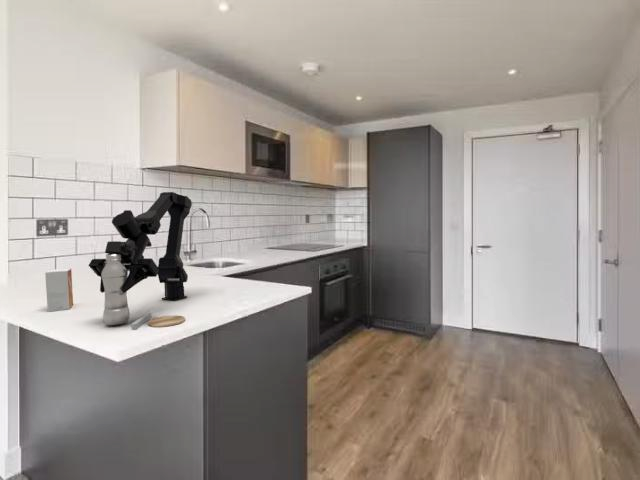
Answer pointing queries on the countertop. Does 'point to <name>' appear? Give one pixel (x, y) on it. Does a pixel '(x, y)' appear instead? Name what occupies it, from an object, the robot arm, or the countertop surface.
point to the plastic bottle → (115, 291)
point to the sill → (141, 321)
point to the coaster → (166, 321)
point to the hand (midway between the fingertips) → (112, 291)
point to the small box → (59, 289)
